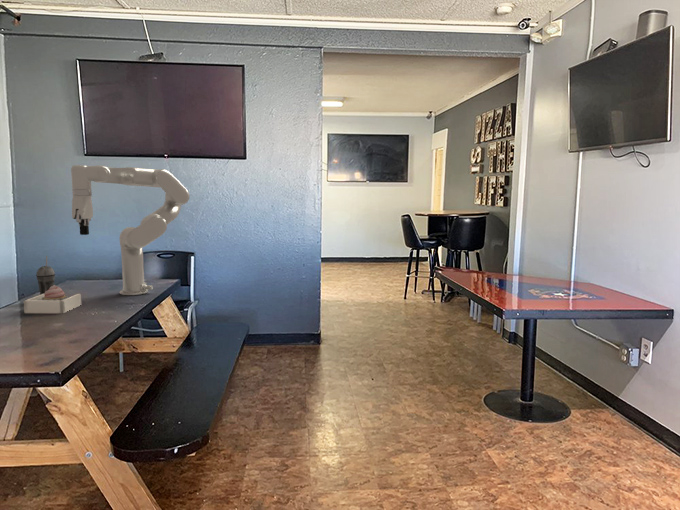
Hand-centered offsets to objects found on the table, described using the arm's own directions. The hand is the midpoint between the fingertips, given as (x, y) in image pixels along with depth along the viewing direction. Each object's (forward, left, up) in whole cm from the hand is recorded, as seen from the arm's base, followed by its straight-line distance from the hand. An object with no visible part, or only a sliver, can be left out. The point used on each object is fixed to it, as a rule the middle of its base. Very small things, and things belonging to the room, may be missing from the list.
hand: (84, 234), depth 220 cm
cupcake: (+4, +19, -29) cm, 35 cm away
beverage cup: (+15, +6, -29) cm, 33 cm away
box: (+4, +20, -29) cm, 36 cm away
